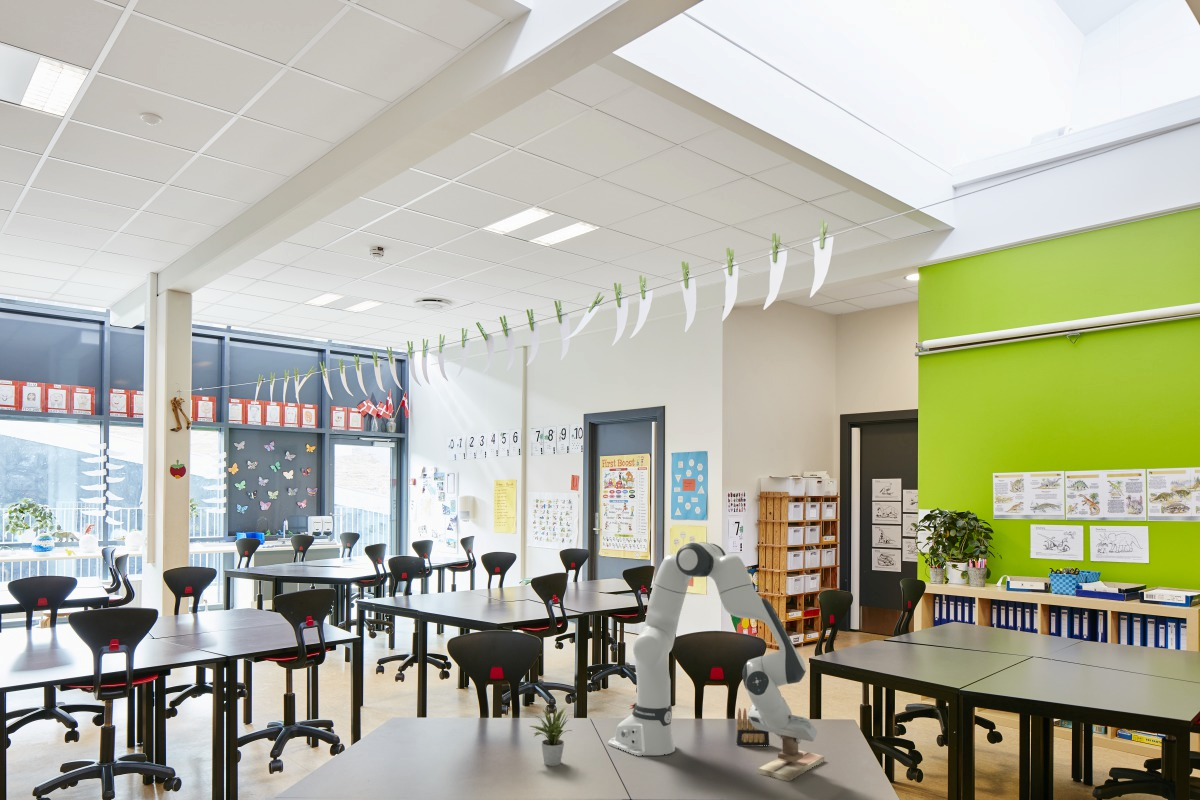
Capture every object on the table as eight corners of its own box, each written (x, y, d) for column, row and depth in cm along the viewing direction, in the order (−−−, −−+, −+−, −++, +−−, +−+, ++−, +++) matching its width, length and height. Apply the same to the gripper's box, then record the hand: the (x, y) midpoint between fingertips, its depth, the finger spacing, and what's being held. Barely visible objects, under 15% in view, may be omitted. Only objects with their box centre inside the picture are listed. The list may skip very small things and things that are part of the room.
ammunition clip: (768, 744, 281) (768, 707, 282) (769, 746, 279) (769, 709, 280) (736, 744, 281) (736, 707, 282) (737, 745, 279) (737, 708, 281)
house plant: (541, 751, 270) (542, 699, 272) (581, 757, 266) (582, 704, 267) (522, 765, 257) (523, 710, 258) (564, 771, 252) (565, 715, 254)
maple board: (758, 773, 253) (758, 767, 253) (795, 754, 271) (795, 748, 272) (788, 781, 247) (788, 775, 247) (824, 761, 265) (824, 755, 265)
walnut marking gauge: (778, 758, 258) (777, 721, 259) (786, 753, 262) (786, 717, 263) (794, 762, 255) (794, 724, 256) (802, 757, 259) (802, 721, 260)
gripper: (811, 710, 248) (825, 737, 255) (750, 698, 261) (765, 724, 268) (804, 729, 244) (819, 756, 251) (742, 715, 258) (758, 741, 264)
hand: (791, 739), depth 260 cm, fingers closed on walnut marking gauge, 3 cm apart
